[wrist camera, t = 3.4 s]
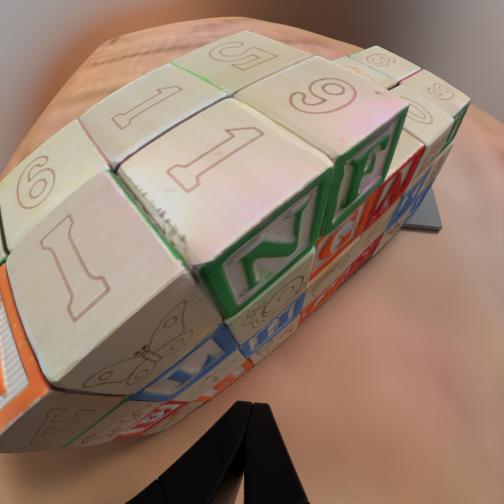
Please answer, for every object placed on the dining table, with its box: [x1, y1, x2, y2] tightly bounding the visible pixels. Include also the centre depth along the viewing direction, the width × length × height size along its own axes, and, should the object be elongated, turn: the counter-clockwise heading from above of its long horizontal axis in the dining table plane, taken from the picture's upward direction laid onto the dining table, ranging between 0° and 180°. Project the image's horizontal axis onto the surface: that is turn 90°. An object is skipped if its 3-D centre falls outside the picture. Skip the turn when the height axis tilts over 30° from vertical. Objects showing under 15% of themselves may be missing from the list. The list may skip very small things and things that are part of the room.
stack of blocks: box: [0, 31, 471, 453], centre depth 12 cm, size 21×6×12 cm, turn 130°
